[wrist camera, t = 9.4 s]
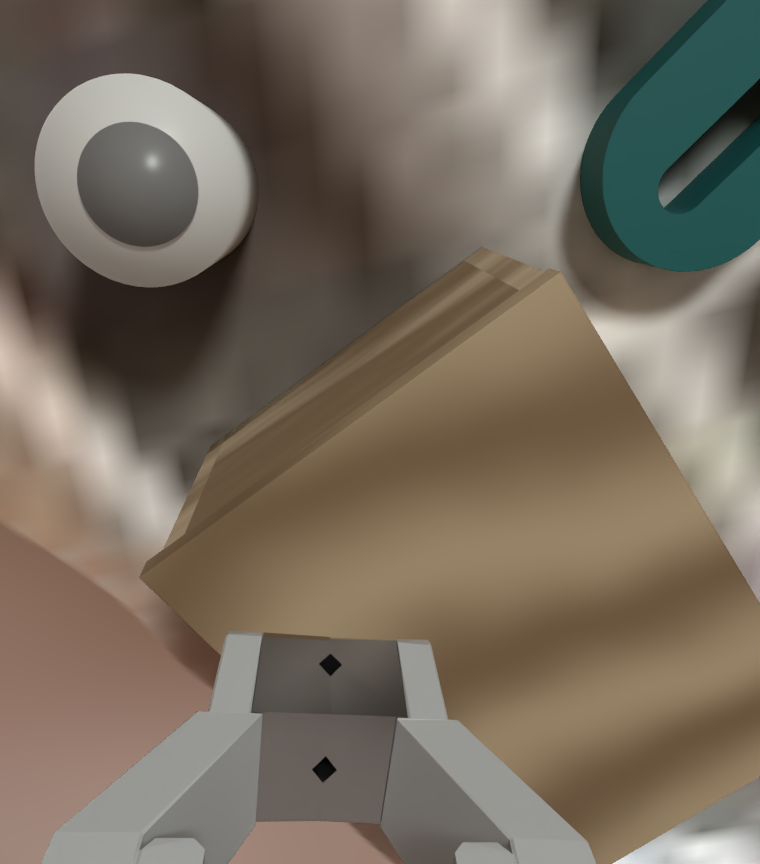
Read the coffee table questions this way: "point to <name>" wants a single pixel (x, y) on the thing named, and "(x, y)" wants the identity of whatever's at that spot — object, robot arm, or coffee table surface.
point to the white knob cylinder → (144, 180)
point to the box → (351, 380)
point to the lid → (512, 570)
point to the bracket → (680, 148)
